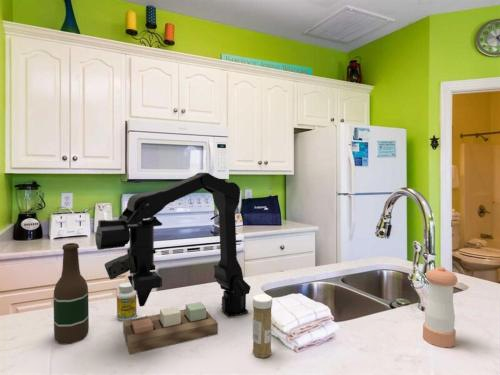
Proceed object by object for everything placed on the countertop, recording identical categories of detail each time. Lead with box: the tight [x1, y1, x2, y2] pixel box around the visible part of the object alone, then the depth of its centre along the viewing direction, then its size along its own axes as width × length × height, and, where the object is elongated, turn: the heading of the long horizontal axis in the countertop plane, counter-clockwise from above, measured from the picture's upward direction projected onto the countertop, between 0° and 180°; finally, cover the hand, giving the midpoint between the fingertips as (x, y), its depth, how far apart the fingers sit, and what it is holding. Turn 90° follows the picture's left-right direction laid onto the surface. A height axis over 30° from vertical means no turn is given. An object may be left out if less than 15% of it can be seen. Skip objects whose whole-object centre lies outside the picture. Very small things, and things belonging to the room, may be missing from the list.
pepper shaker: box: [422, 266, 458, 348], centre depth 84 cm, size 7×7×19 cm
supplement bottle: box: [116, 282, 138, 322], centre depth 95 cm, size 5×5×10 cm
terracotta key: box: [132, 318, 153, 334], centre depth 83 cm, size 4×4×3 cm
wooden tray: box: [122, 308, 219, 356], centre depth 86 cm, size 22×12×3 cm, turn 118°
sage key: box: [185, 301, 207, 322], centre depth 89 cm, size 4×4×3 cm
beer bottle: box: [53, 242, 90, 345], centre depth 83 cm, size 8×8×24 cm
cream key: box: [159, 305, 181, 327], centre depth 86 cm, size 4×4×3 cm
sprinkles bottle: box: [252, 294, 273, 358], centre depth 77 cm, size 5×5×13 cm
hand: (141, 305), depth 83 cm, fingers closed
